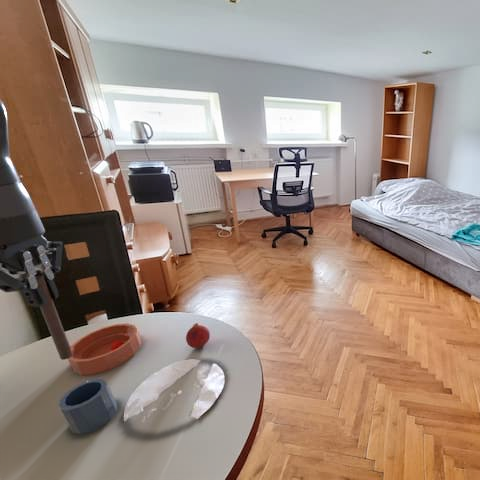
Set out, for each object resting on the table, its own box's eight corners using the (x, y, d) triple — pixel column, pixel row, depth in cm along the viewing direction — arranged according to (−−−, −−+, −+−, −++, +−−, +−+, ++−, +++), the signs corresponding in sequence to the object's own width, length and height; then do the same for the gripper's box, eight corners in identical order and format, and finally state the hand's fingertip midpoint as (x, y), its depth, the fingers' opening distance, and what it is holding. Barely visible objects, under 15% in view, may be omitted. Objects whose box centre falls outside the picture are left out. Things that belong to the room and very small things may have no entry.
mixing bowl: (58, 379, 71) (49, 364, 70) (100, 339, 85) (94, 325, 83) (121, 373, 73) (114, 358, 71) (152, 335, 87) (147, 321, 85)
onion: (205, 354, 79) (199, 331, 76) (185, 354, 79) (177, 331, 76) (215, 340, 84) (210, 317, 81) (196, 340, 84) (190, 317, 81)
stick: (58, 359, 57) (25, 280, 50) (65, 353, 59) (35, 275, 52) (67, 359, 57) (36, 280, 51) (75, 353, 59) (46, 275, 52)
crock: (62, 438, 58) (47, 412, 55) (90, 405, 65) (78, 380, 62) (102, 433, 59) (89, 407, 56) (125, 401, 66) (115, 376, 63)
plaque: (141, 373, 72) (140, 369, 72) (227, 354, 79) (226, 350, 78) (108, 453, 55) (105, 448, 54) (221, 420, 61) (220, 415, 61)
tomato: (109, 341, 79) (116, 341, 78) (120, 340, 82) (127, 340, 81) (107, 352, 78) (114, 352, 77) (118, 350, 81) (125, 350, 80)
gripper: (17, 203, 53) (55, 284, 59) (-80, 226, 40) (-18, 327, 46) (62, 201, 54) (95, 282, 60) (-19, 224, 41) (34, 323, 47)
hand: (45, 301), depth 53 cm, fingers closed on stick, 2 cm apart
